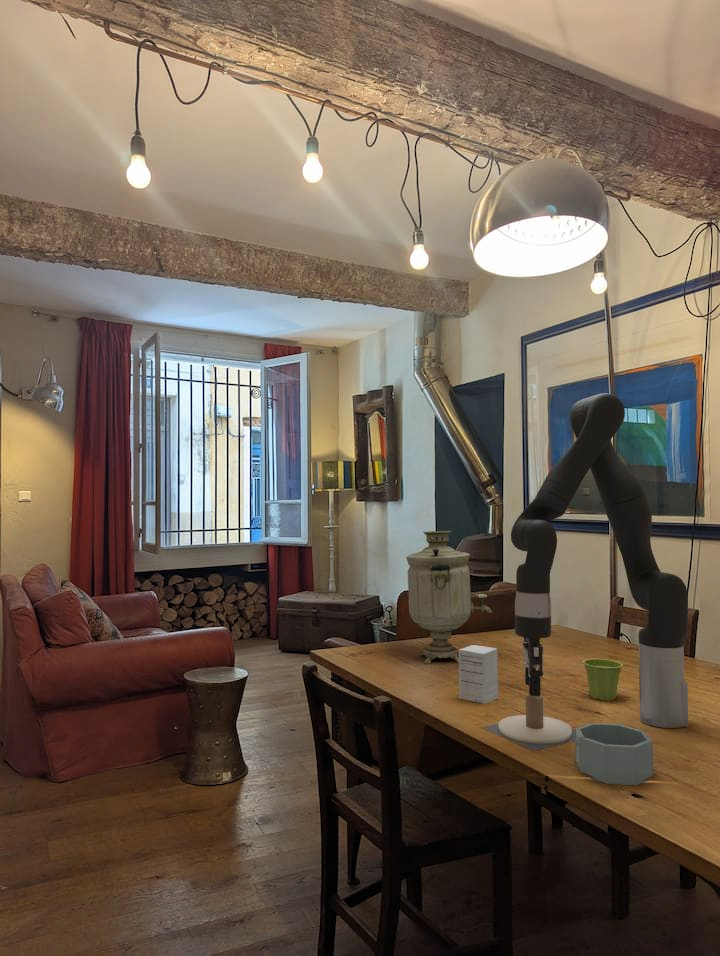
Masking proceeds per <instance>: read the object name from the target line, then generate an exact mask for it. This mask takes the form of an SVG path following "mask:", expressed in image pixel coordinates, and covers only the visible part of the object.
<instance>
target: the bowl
mask: <svg viewBox="0 0 720 956" xmlns="http://www.w3.org/2000/svg"><path fill="white" fill-rule="evenodd" d="M574 730H575V741H574V762H575V763H576V765H577V767H578V769H579V772H580V773H582V774H586V777H587V778H589V779H592V780H594V781H598V782H600V783H604V784H605V785H623V786H636V787H637V786H639V785H640V784H643V783H645V782H647V781H649V779H648V778H650V777H654V745H653V744H654V741H653V740H652V739H651V737H650V736H649V735H648V734H647V733H646V731H644V730H641V729H636V728H634V727H630V726H627V725H623V724H620V723H604V722H603V723H601V722H600V723H599V722H597V723H596V722H590V723H587V724H584V725H580V726H578V727H575V728H574Z"/></svg>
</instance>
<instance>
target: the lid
mask: <svg viewBox="0 0 720 956" xmlns="http://www.w3.org/2000/svg"><path fill="white" fill-rule="evenodd" d="M498 724H499V732H500V733H501V734H502V735H503V736H505V737H507V738H509V739H512V740H515V741H519V742H523V743H529V744H557V743H562V742H565V741H568V740H569V739H570V738H571V737H572V730H573V728H572V727H571V725H570V724H568V723H567V722H565V721H563V720H561V719H557V718H553V717H550V716H544V696H541V695H540V696H531V695H530V694H529V695H526V696H525V714H522V715H521V714H520V715H512V716H507V717H504V718H502V719H500V720H499V721H498Z"/></svg>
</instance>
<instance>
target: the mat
mask: <svg viewBox="0 0 720 956" xmlns="http://www.w3.org/2000/svg"><path fill="white" fill-rule="evenodd" d="M480 729H482V730H485V731H488V732H490V733H492V734H494V735H496V736H498V737H501V738H504V739H505V740H507V741H511V742H512V743H515V744H517V745H518V746H522V747H524V748H526V749H528V750H531V751H533V752H536V751H540V750H544V749H548V748H551V747H556V746H560V745H561V746H562V745H564V744H568V743H572V742H575V729H572V737H571V738H570V739H569V740H568V741H565V742H562V743H557V744H529V743H523V742H519V741H515V740H512V739H509V738H507V737H505V736H503V735H502V734H501V733H500V732H499V723H495V724H490V725H485V726H481V727H480Z"/></svg>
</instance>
